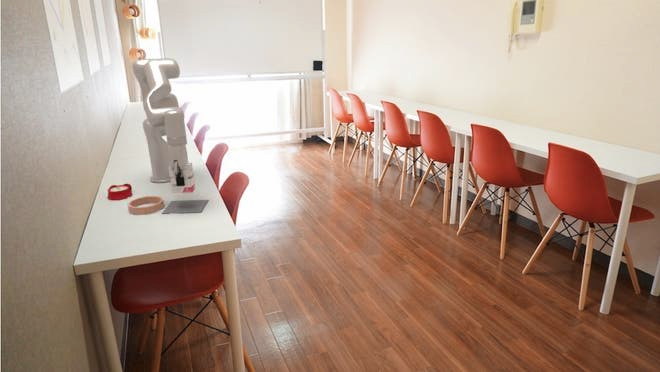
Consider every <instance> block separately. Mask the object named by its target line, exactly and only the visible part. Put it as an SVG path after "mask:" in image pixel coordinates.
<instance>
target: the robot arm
mask: <svg viewBox="0 0 660 372" xmlns="http://www.w3.org/2000/svg"><path fill="white" fill-rule="evenodd" d="M131 68H132V72H133V75H134V76H135V78H136V81H137V82H138V85H139V87H140V92H141V93H140V94H141V100H142V106H143V110H144V113H145V116H146V119H144V120H143V122H142V128H143V132H144V136H145V138H146V141H147V142H146V143H147V147H148V154H149V161H150V168H151V173H152V176H151V177H149V181H150V182H151V183H155V184H156V183H159V184H161V183H162V184H163V183H168V182H171V181H170V174H169V165H170V169H171V170H174V173H175V177H176V184H177V186H185V182H184V176H183V169H184V165H185V164H186V163H189V157H188V150H187V145H188V140H187V131H186V123H185V113H184V110H183V109H182V108H181V107H180V106H179V101H178V98H177V96H176V95H175V94H174V93H172V86H171V82H170V80H171V79H173V80H174V79H175V80H176V79H178V78H179V77H180V74H181V70H180V66H179V63H178V62H177V60H175V59H173V58H169V57H168V58H167V57H166V58H165V57H164V58H142V59H137V60H136V59H135V60H134V61H133V62H132V67H131ZM165 136H166V140H165V139H164V138H163V137H165ZM178 168H180V169H178ZM178 171H180V172H181V173H180V172H178Z"/></svg>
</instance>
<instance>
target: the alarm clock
mask: <svg viewBox="0 0 660 372" xmlns="http://www.w3.org/2000/svg"><path fill="white" fill-rule="evenodd" d="M132 190H133V188H132V185H131V184H130V183H124V184H121V185H119V184H118V185H115V184H112V185H111V186H110V187H109V188H107V199H108V200H110V201H121V200H124V199H127V198H131V197H132V196H133V191H132Z"/></svg>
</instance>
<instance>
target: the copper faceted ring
mask: <svg viewBox="0 0 660 372" xmlns="http://www.w3.org/2000/svg"><path fill="white" fill-rule="evenodd" d="M164 202H165V201H164V198H162V197H161V196H157V195H146V196H141V197H137V198H134V199H131V200H130V201H129V202H128V203H127V208H128V211H129V214H131V215H136V216H137V215H148V214H154V213H157V212H159V211H161V210H162V209H163V208H164V207H165V203H164ZM146 204H151V205H147V206H146ZM140 205H145V206H140Z"/></svg>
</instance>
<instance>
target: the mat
mask: <svg viewBox="0 0 660 372" xmlns="http://www.w3.org/2000/svg"><path fill="white" fill-rule="evenodd" d="M208 202H209V199H189V200H188V199H187V200H171V201H170V202H169V204H168V205H167V206H166V207H165V208H164V210H163V211H162V212H161V215H171V214H170V213H178V214H198V213H199V214H201V213H202V212H203V210H204V209H205V207H206V206H207V204H208Z"/></svg>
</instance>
